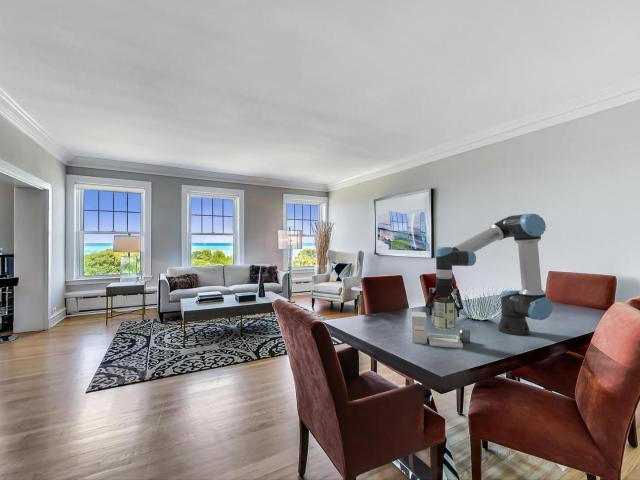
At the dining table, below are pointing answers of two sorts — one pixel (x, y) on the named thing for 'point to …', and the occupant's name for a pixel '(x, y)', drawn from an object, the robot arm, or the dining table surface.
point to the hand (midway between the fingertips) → (444, 322)
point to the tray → (445, 341)
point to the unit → (419, 327)
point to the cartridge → (464, 336)
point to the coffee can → (444, 313)
